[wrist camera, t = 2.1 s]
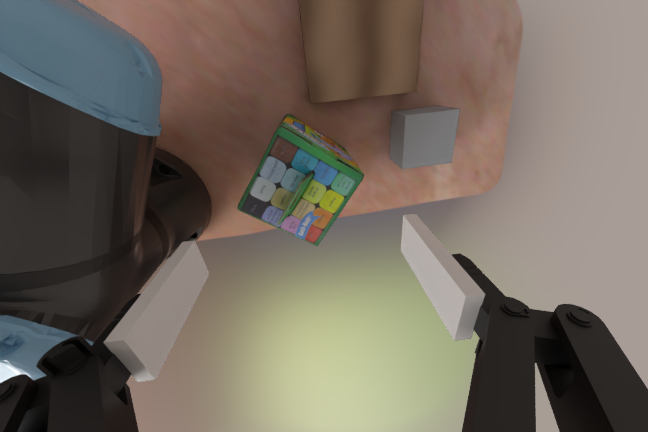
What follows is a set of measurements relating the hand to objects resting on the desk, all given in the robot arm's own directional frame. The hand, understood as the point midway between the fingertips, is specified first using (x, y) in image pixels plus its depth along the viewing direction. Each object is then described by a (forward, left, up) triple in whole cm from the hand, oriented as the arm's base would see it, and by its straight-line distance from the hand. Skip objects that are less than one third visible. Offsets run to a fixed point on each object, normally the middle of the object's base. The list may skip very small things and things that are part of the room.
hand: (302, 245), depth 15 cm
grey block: (+15, +2, -19) cm, 25 cm away
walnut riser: (+8, +13, -19) cm, 25 cm away
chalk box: (0, 0, -20) cm, 20 cm away
